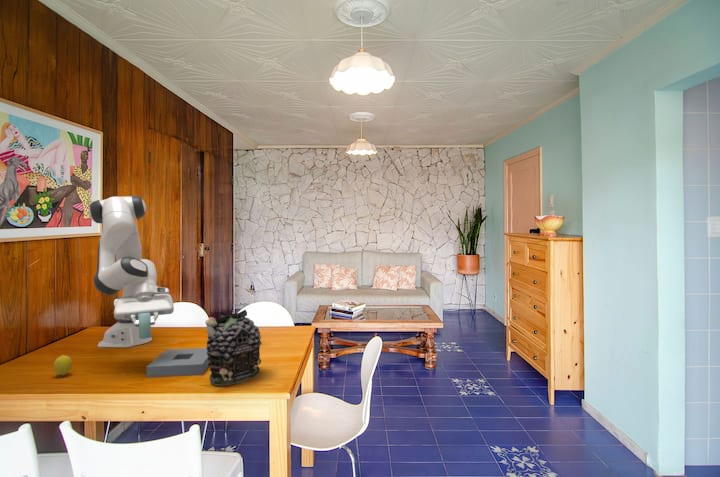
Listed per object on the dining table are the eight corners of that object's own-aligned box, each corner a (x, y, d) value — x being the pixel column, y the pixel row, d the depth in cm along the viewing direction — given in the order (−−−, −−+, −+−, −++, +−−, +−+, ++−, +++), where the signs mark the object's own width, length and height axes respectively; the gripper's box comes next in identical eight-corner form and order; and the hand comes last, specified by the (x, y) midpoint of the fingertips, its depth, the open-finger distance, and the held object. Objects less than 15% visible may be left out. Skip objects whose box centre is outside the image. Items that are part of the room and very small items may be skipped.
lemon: (60, 373, 147) (59, 352, 147) (75, 372, 147) (75, 352, 147) (50, 379, 141) (49, 357, 141) (65, 378, 142) (65, 357, 142)
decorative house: (218, 392, 130) (217, 319, 129) (198, 380, 140) (197, 312, 139) (270, 375, 145) (270, 309, 144) (249, 365, 155) (248, 304, 154)
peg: (137, 339, 143) (136, 315, 142) (141, 335, 147) (141, 312, 146) (148, 338, 143) (147, 314, 143) (152, 335, 147) (152, 312, 147)
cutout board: (146, 377, 143) (146, 366, 143) (166, 359, 163) (166, 349, 162) (202, 374, 145) (202, 364, 145) (215, 356, 165) (215, 347, 165)
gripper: (113, 292, 146) (111, 324, 137) (172, 288, 155) (174, 317, 147) (114, 302, 150) (113, 333, 142) (172, 297, 159) (174, 325, 151)
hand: (144, 324), depth 144 cm, fingers closed on peg, 4 cm apart
